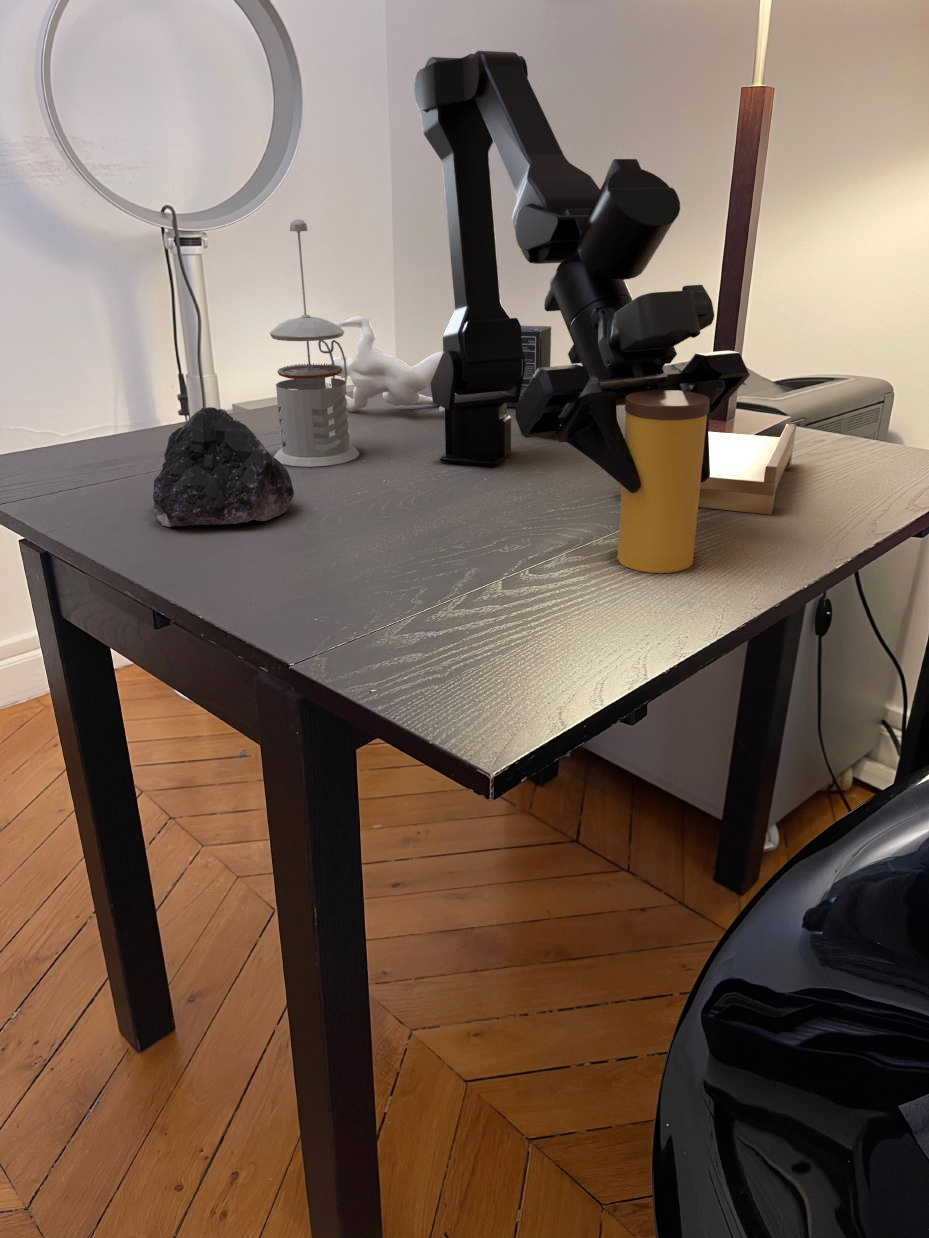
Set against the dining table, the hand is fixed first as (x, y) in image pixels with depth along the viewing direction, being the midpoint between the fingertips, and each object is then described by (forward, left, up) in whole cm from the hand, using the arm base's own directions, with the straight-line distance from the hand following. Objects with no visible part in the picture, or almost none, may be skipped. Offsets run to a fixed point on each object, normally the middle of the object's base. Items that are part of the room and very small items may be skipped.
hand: (671, 485), depth 71 cm
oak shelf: (+1, +25, -7) cm, 26 cm away
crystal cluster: (-42, +2, -7) cm, 43 cm away
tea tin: (-1, +1, -7) cm, 7 cm away
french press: (-43, +24, -7) cm, 50 cm away
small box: (-30, +57, -7) cm, 65 cm away
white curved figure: (-43, +46, -7) cm, 63 cm away
